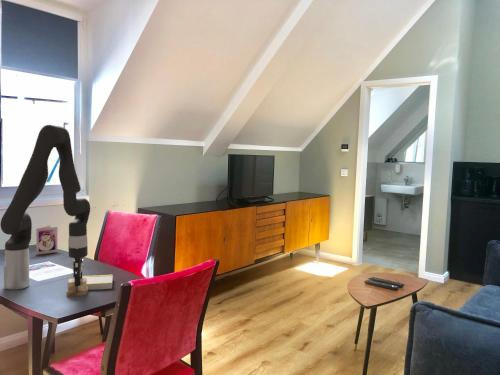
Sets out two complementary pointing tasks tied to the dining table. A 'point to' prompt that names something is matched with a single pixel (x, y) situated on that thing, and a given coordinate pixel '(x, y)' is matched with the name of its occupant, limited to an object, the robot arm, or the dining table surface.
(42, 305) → the dining table surface
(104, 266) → the dining table surface
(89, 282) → the dock
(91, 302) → the dining table surface
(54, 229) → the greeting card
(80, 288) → the pallet
